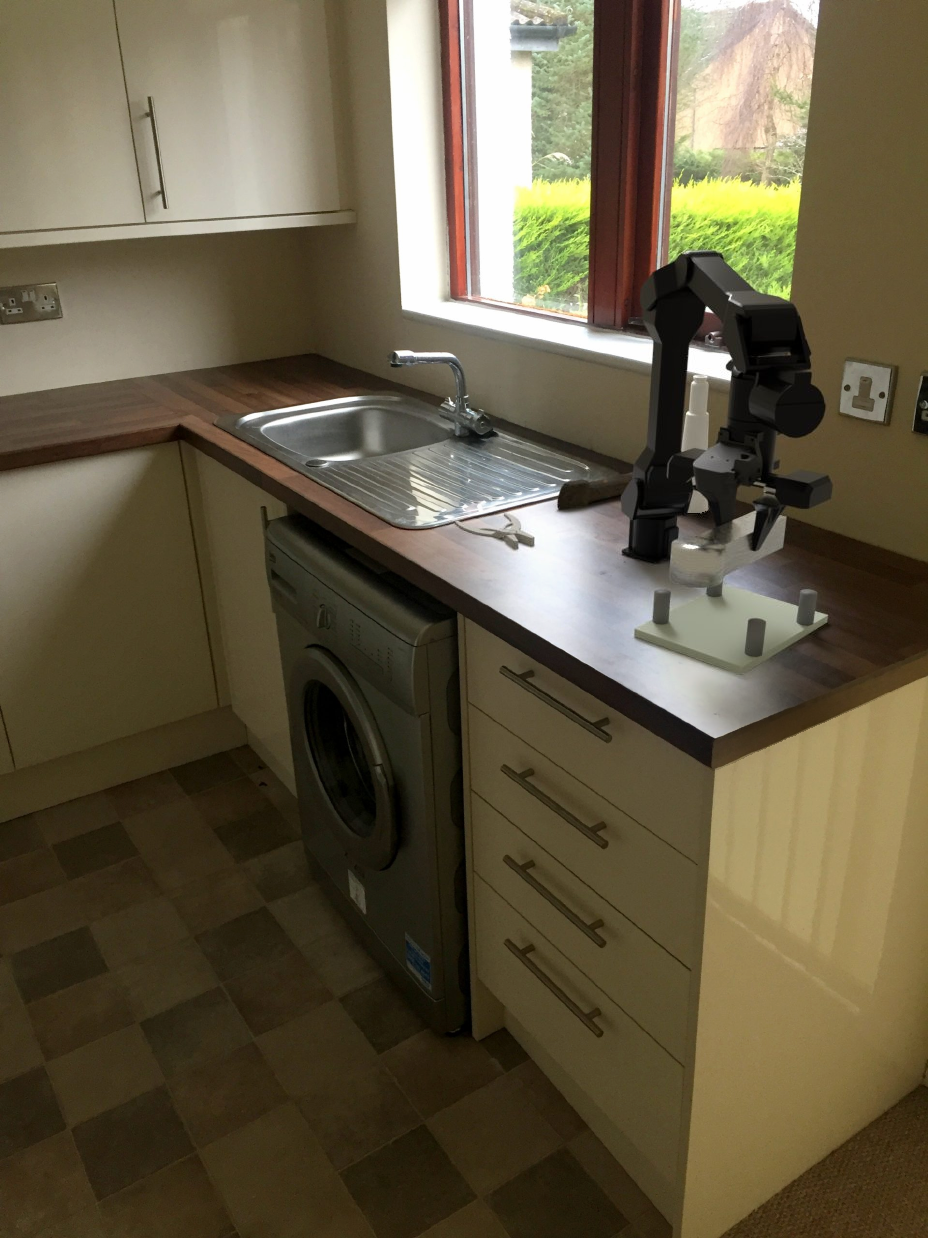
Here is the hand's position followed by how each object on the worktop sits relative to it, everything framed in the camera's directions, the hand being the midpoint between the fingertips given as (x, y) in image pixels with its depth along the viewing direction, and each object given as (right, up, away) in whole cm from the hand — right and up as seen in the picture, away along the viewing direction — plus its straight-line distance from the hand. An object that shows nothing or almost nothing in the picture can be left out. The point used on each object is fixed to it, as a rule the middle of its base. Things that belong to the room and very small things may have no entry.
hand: (739, 546), depth 122 cm
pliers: (-27, +5, +39) cm, 48 cm away
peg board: (0, -10, +4) cm, 11 cm away
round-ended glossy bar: (-2, -2, -1) cm, 3 cm away
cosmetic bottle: (+5, +10, +48) cm, 50 cm away
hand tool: (-9, +11, +53) cm, 55 cm away
